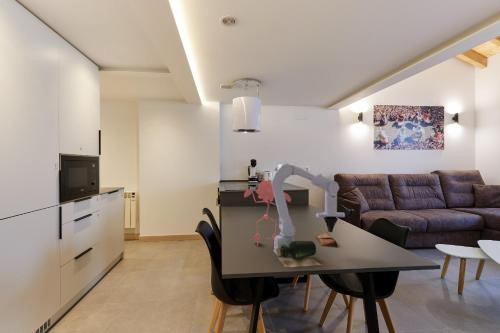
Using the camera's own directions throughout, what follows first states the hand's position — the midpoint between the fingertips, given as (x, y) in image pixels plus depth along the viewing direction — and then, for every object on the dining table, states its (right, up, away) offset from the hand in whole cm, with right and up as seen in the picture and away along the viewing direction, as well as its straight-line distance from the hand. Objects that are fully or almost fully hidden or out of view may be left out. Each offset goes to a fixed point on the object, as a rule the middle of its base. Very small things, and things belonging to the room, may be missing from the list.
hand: (330, 231), depth 131 cm
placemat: (-18, -10, -12) cm, 24 cm away
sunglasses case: (+3, -11, +18) cm, 21 cm away
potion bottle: (-10, -6, -6) cm, 14 cm away
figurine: (-31, -10, +16) cm, 36 cm away
